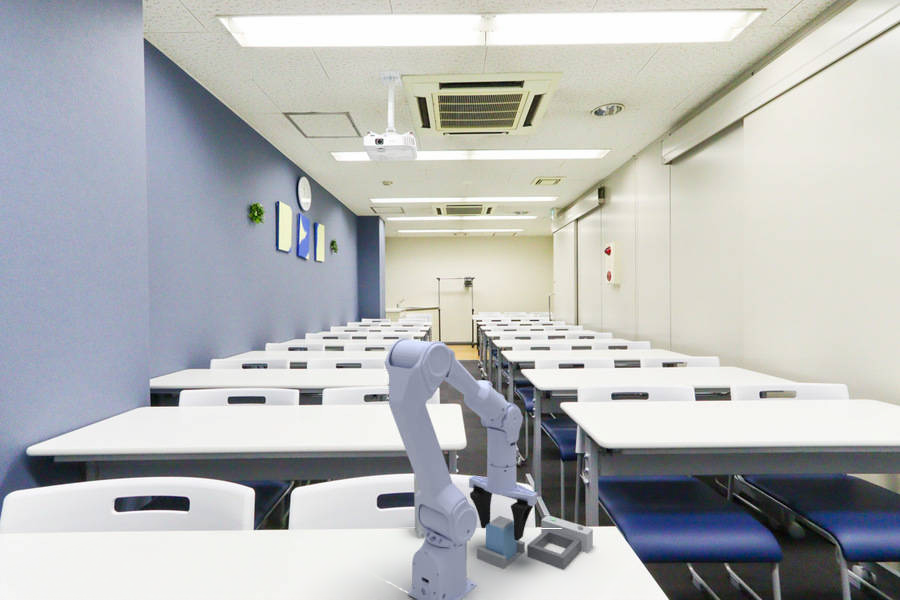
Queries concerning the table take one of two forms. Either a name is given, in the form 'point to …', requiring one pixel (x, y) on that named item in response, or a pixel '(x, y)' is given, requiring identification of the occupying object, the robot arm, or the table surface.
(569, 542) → the port
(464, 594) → the robot arm
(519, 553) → the grey u-shaped bracket
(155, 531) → the table surface
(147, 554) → the table surface
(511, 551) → the plug
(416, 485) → the skincare box
